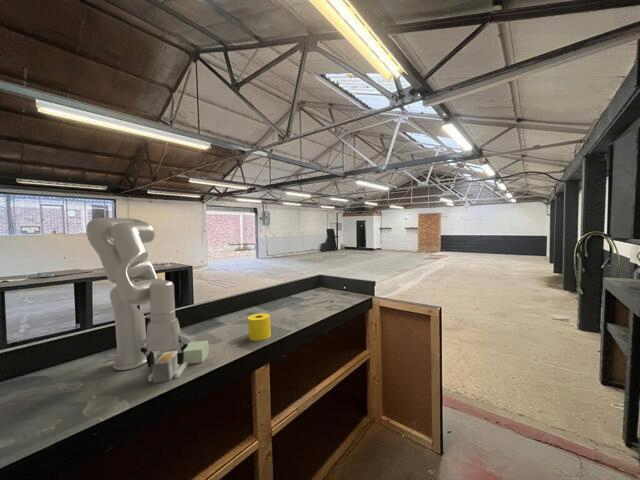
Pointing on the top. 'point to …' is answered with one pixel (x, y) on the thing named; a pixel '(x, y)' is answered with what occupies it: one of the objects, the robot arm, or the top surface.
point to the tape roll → (259, 327)
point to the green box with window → (188, 355)
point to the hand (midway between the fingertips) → (165, 363)
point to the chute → (165, 367)
